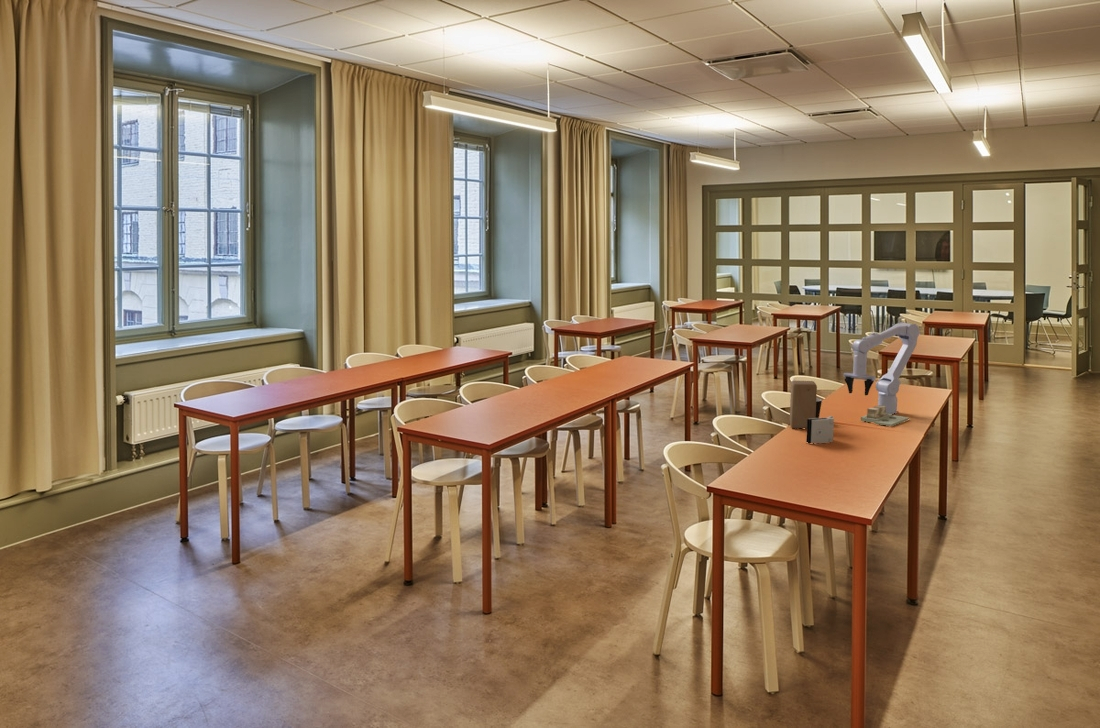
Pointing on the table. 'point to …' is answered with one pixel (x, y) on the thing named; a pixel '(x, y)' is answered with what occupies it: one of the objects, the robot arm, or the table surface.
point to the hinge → (820, 430)
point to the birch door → (876, 412)
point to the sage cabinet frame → (886, 420)
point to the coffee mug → (818, 407)
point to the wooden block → (802, 403)
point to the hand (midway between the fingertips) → (858, 394)
